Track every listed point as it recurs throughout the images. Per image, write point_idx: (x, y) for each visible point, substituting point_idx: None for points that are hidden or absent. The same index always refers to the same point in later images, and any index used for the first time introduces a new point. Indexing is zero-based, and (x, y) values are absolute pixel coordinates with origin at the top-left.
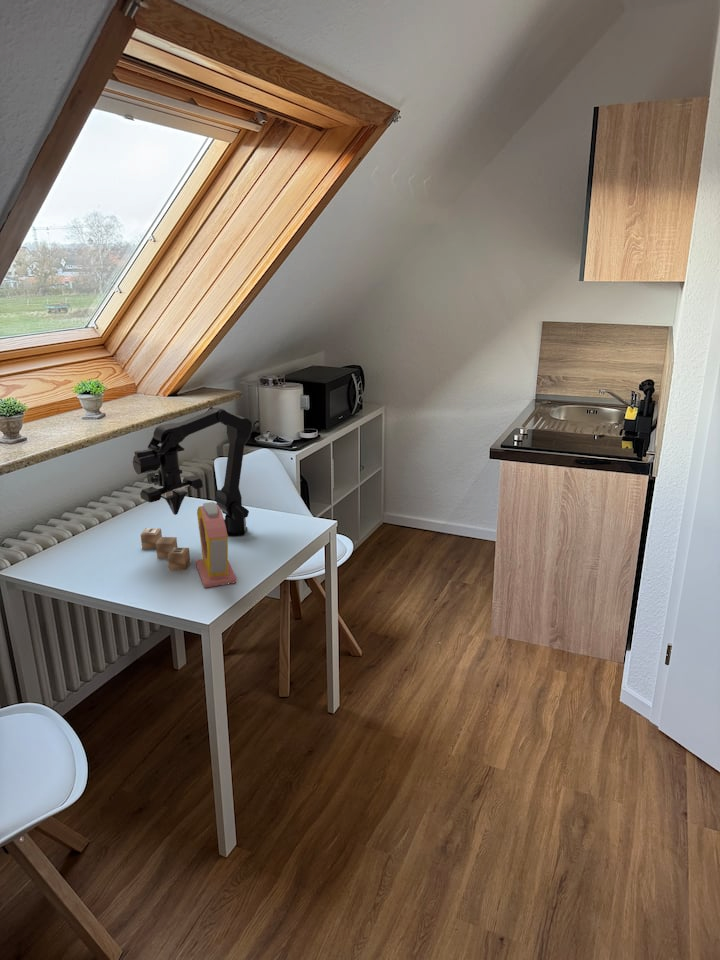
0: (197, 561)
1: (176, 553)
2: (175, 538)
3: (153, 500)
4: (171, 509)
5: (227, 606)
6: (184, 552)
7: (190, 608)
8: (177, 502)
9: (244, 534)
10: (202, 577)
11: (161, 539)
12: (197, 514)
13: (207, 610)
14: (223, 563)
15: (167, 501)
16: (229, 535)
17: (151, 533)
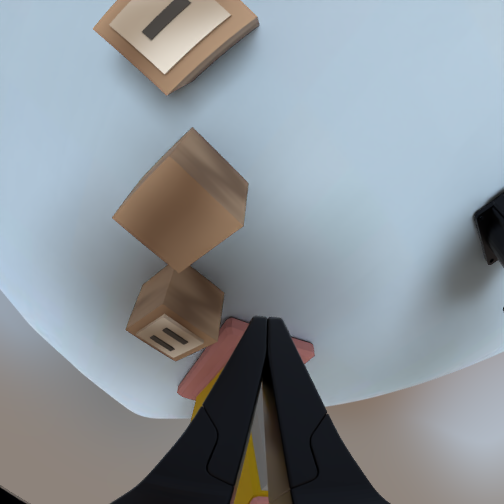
0: (224, 340)
1: (155, 344)
2: (227, 237)
3: (11, 502)
4: (229, 363)
5: (183, 418)
6: (183, 353)
7: (130, 396)
8: (269, 474)
9: (492, 261)
10: (186, 384)
11: (157, 192)
12: (248, 493)
13: (152, 409)
14: None
15: (175, 459)
16: (477, 228)
17: (149, 59)
